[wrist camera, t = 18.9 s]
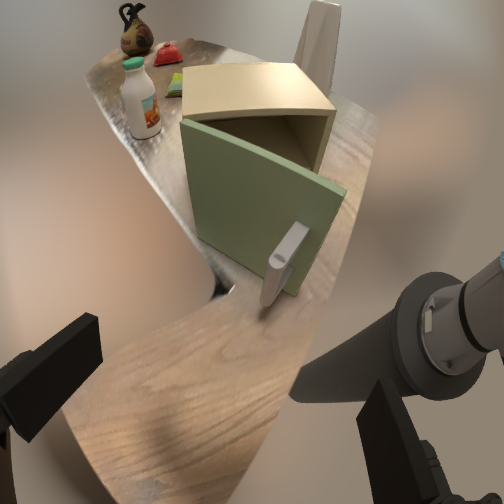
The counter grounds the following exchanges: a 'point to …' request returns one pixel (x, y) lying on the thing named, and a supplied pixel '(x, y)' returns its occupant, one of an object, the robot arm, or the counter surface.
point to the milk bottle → (140, 100)
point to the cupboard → (262, 107)
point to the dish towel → (175, 85)
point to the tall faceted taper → (319, 44)
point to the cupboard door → (257, 206)
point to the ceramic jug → (135, 33)
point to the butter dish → (168, 55)
